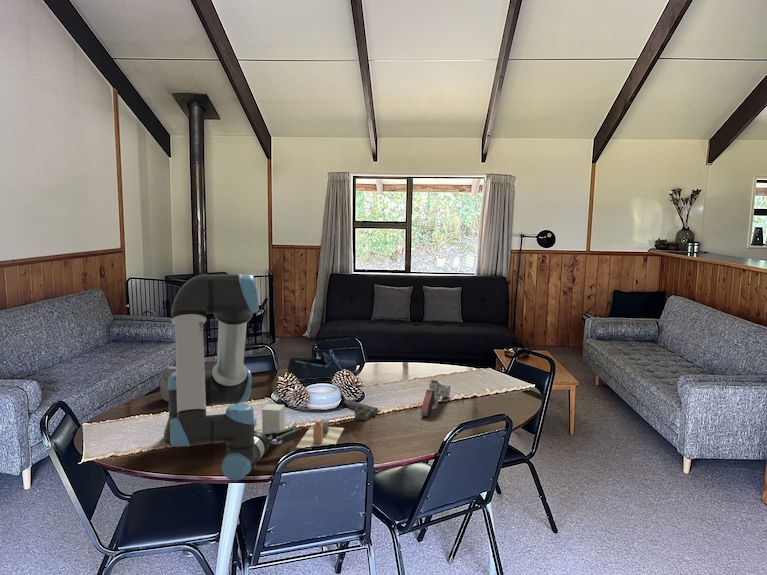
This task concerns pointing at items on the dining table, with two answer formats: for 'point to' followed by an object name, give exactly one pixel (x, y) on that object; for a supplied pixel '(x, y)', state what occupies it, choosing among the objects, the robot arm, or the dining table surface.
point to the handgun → (362, 410)
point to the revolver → (433, 396)
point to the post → (318, 432)
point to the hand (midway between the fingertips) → (275, 423)
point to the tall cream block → (273, 418)
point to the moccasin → (319, 366)
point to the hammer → (164, 382)
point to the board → (328, 436)
